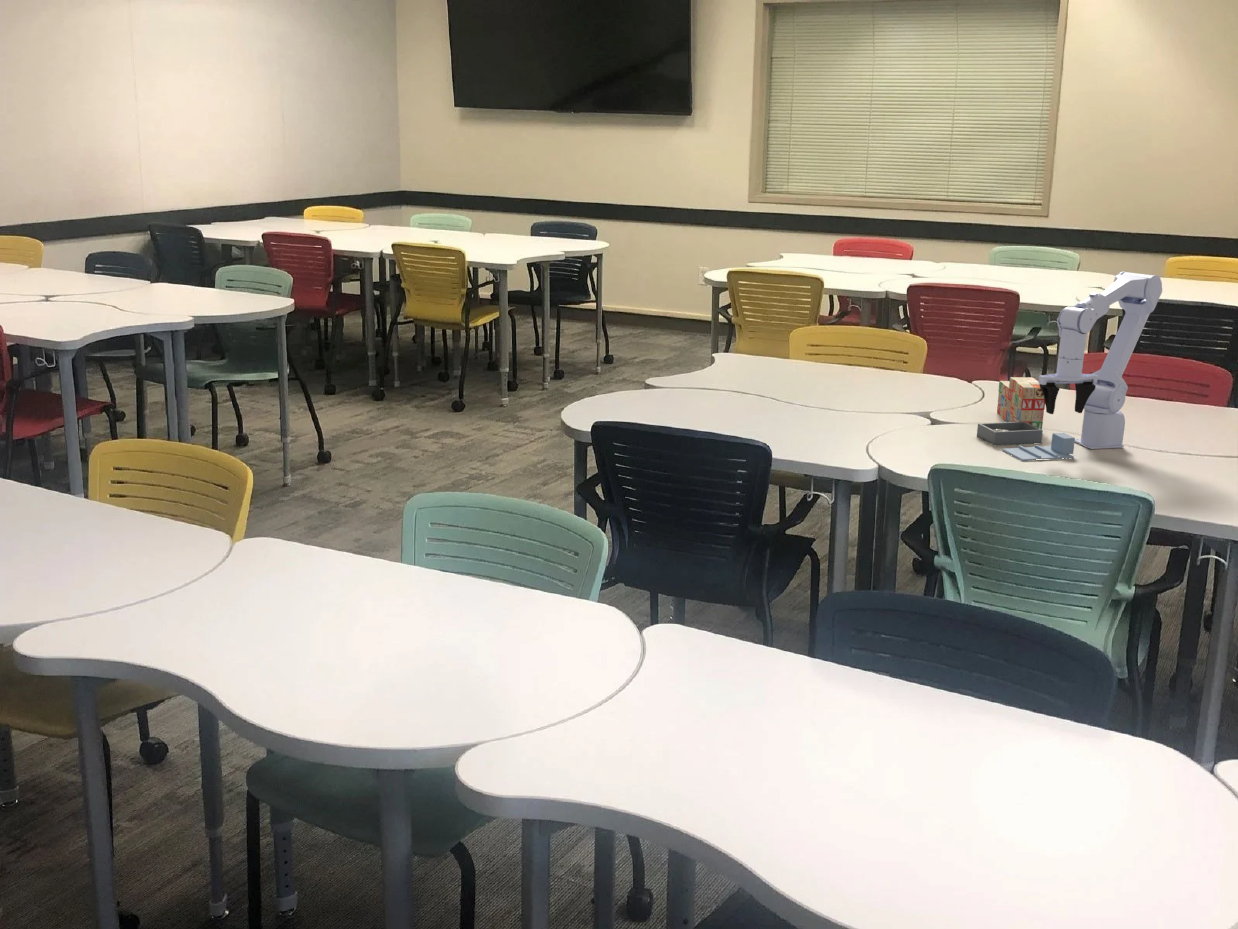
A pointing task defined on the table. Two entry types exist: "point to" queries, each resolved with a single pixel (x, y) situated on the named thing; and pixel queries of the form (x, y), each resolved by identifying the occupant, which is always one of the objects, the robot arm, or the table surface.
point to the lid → (1046, 449)
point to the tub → (1009, 433)
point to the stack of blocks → (1021, 401)
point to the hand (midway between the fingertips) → (1064, 412)
